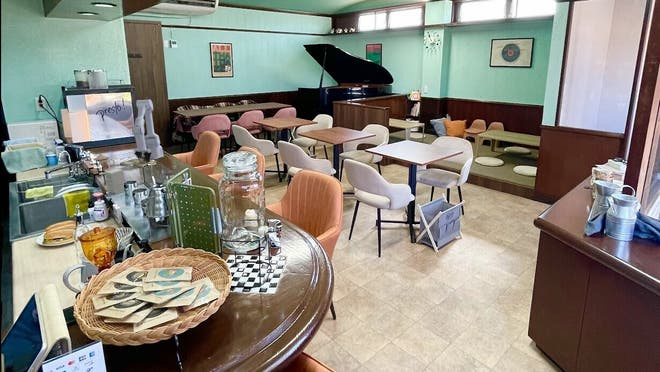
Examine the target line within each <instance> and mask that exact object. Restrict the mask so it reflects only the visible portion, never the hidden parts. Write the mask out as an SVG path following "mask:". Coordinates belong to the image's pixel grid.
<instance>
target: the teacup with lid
mask: <svg viewBox="0 0 660 372" xmlns="http://www.w3.org/2000/svg"><path fill="white" fill-rule="evenodd" d="M93 159H94V161H95V160H96V161H98V162H100V163H101V165H102V166H103V169H104V170H112V167H113V166H115V163H116V161H115V159H113V158H110V157H109V155H108V156H107V155H103V154H102V153H100V154H99V155H98V156H96V157H95V158H93ZM110 161H113V163H112V164H111V162H110Z"/></svg>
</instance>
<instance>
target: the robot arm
mask: <svg viewBox="0 0 660 372" xmlns="http://www.w3.org/2000/svg"><path fill="white" fill-rule="evenodd" d="M135 105H136V108H137V117H136V118H135V121H134V126H133V127H132V130H131V131H132V134H133V137H134V138H135V142H136V147H137V148H134V149H133V151H134V153H133V154H134V155H135V156H136V157H140V156H145V158H146V162H150V160H157V159H159V158H163V157H165V155H164V150H163V147H162V146H161V145H160V144H161V140H160V136H159V135H158V134H156V133H155V128H154V121H153V113H152V112H153V111H154V105H153V102H152V100H151V99H142V100H141V99H137V100H136V102H135ZM145 124H146V133H147V134H146V135H144V134H145ZM137 159H138V158H137ZM138 160H139V159H138ZM139 162H140V161H139Z"/></svg>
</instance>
